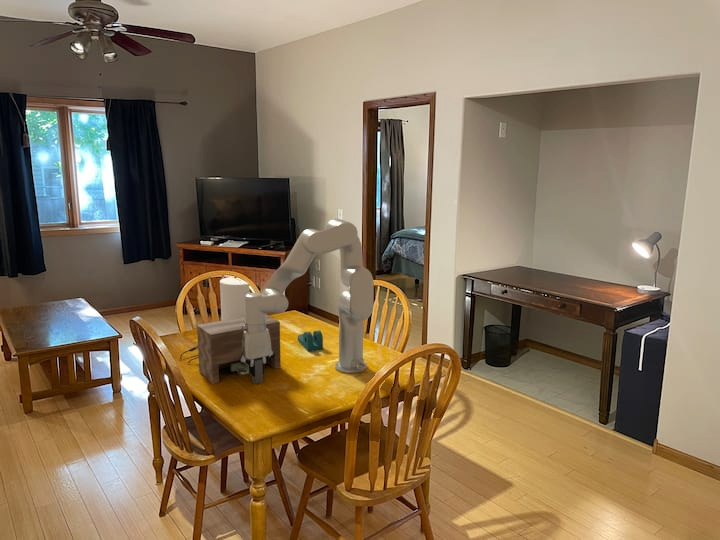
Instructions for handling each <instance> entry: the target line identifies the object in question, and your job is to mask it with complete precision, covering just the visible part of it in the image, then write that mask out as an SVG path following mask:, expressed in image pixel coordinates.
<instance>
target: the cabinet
mask: <svg viewBox="0 0 720 540" xmlns="http://www.w3.org/2000/svg"><path fill="white" fill-rule="evenodd" d="M244 323H245V317H239V318H234V319H228V320H217V321H212V322H207V323H201V324H196V331H197V332H196V334H197V346H198V349H197V350H198V351H197V352H198V357H199V358H198V371H199V373H200V374H201V373H202V374H201V375H203V376H204V378H206V379H207V380H208V381H209V382H210V383H211V382H212V384H213V385H215V384H218V383H220V372H219V371H220V369H224V368H230V364H232V363H236V362H241V361H240V360H239V359H240V356H241V354H242V339H243V333H244V331H245V330H242V326H244V325H245V324H244ZM266 328H267V329H268V330H269V334H270V340H271V350H272V352H273V355H271V356H270V357H269V358H268V359H267V361H266V363H265V364H268V365H269V366H271V367H272V368H274V369H279V368H281V366H282V365H281V363H282V361H281V322H280V321H279V320H277V319H275V318H273V317H271V316H270V315H268V314H266ZM245 359H247V358H246V357H245ZM247 360H248V359H247ZM214 383H215V384H214Z"/></svg>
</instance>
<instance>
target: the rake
mask: <svg viewBox="0 0 720 540" xmlns="http://www.w3.org/2000/svg"><path fill="white" fill-rule="evenodd" d="M254 366H255V376H254V377H253V376H252V375H251V382H252V383H253V384H255V385H257V384H260V383H261V384H262V383H264V377H263V376H264V374H263V367H262V359H261V358H257V359H254ZM239 368H243V369H245V370H246V371H247V372H248V374H250V373H249V365H248V364H247V363H245V362H236V363H232V364H230V366H229V369H230V372H235V371H236V372H237V369H239Z"/></svg>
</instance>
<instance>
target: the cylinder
mask: <svg viewBox="0 0 720 540" xmlns="http://www.w3.org/2000/svg"><path fill="white" fill-rule="evenodd" d="M219 289H220V290H219V291H220V293H219V295H220V314H221V316H220V319H221V320H220V321H222V320H228V319H234V318H239V317H245V309H244V297H245V295H247V294H249V293H250V283H248V282H245V281H242V280H240V279H237V278H235V277H233V276H227V277H223V278H222V279H220V280H219Z"/></svg>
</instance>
